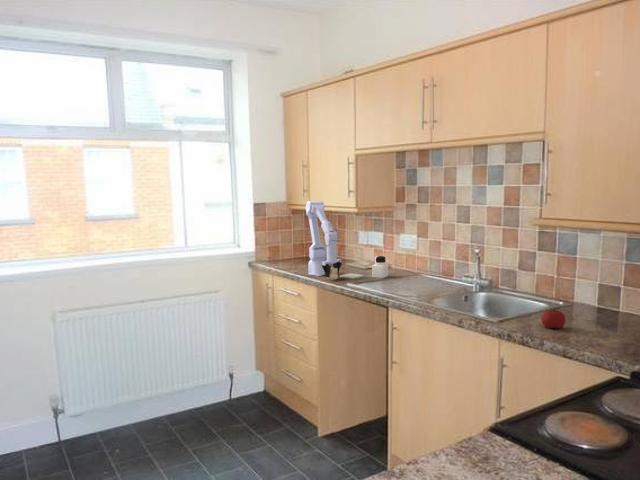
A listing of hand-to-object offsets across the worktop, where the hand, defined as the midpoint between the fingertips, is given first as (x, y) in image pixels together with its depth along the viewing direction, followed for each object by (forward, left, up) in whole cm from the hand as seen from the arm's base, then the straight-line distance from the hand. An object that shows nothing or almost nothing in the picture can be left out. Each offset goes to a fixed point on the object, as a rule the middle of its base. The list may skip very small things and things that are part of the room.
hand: (332, 276), depth 286 cm
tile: (+5, +12, -1) cm, 13 cm away
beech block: (0, 0, -2) cm, 2 cm away
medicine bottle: (+18, +22, -2) cm, 28 cm away
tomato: (+127, -22, -2) cm, 129 cm away
